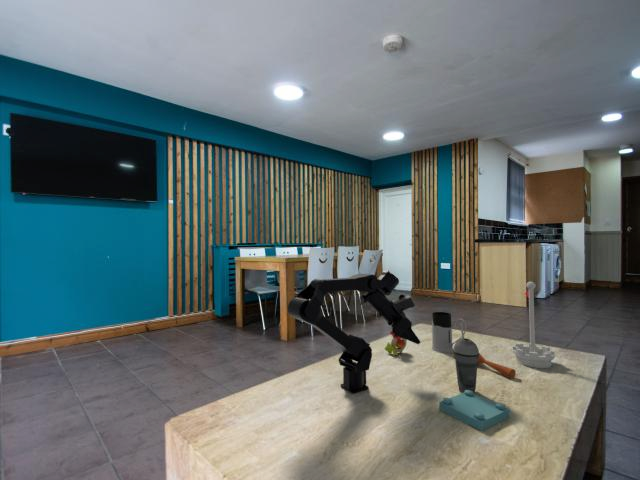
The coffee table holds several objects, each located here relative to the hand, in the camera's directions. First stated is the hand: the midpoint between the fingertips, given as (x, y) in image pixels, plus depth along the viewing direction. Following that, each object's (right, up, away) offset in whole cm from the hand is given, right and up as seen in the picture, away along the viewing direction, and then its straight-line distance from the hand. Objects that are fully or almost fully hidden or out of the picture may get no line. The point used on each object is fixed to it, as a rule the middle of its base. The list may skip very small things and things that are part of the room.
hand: (416, 339), depth 106 cm
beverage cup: (+13, -13, -8) cm, 20 cm away
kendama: (+28, -14, +10) cm, 32 cm away
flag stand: (+48, -14, +15) cm, 52 cm away
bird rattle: (0, -15, +27) cm, 31 cm away
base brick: (+9, -13, -21) cm, 26 cm away
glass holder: (+22, -14, +30) cm, 40 cm away
